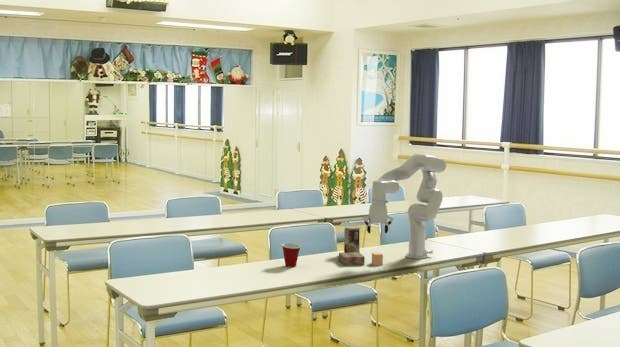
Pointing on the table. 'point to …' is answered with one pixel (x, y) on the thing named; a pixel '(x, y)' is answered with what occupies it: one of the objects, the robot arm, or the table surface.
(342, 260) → the walnut block
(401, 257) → the table surface
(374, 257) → the orange block
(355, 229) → the coffee box
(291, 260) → the plastic cup
